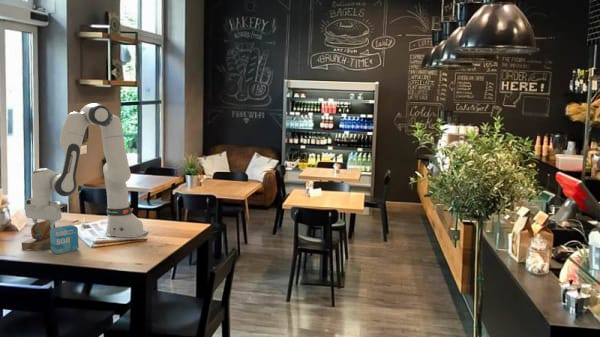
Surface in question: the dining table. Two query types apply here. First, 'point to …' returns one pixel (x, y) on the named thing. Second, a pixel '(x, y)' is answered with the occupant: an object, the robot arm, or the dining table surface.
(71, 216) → the dining table surface
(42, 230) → the tin
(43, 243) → the walnut block
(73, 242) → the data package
